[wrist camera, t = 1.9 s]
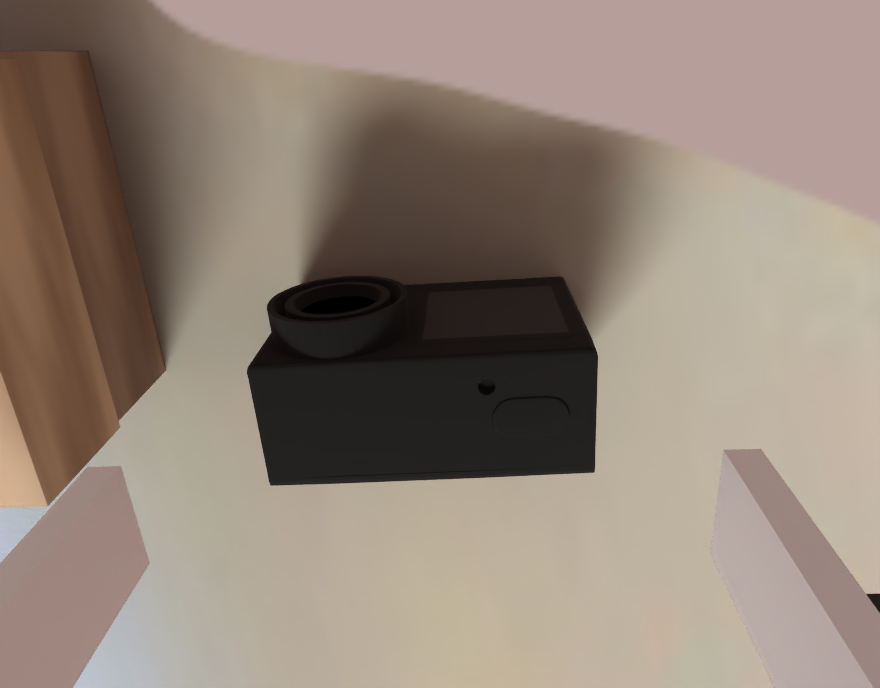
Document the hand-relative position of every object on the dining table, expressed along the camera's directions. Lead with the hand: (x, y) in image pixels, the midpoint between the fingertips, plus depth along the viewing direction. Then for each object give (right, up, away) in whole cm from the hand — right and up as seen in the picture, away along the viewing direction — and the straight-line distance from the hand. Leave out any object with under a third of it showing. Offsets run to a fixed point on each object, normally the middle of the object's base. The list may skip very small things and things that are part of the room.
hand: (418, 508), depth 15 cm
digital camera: (0, +5, +12) cm, 13 cm away
